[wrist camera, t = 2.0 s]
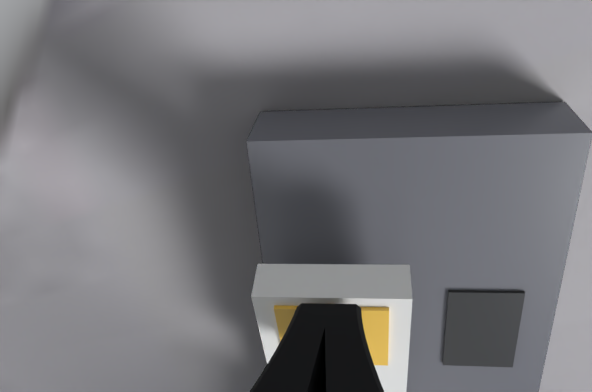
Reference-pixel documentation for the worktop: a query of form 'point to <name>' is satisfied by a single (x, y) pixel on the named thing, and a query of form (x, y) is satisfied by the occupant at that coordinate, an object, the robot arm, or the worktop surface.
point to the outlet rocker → (342, 290)
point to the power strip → (434, 221)
